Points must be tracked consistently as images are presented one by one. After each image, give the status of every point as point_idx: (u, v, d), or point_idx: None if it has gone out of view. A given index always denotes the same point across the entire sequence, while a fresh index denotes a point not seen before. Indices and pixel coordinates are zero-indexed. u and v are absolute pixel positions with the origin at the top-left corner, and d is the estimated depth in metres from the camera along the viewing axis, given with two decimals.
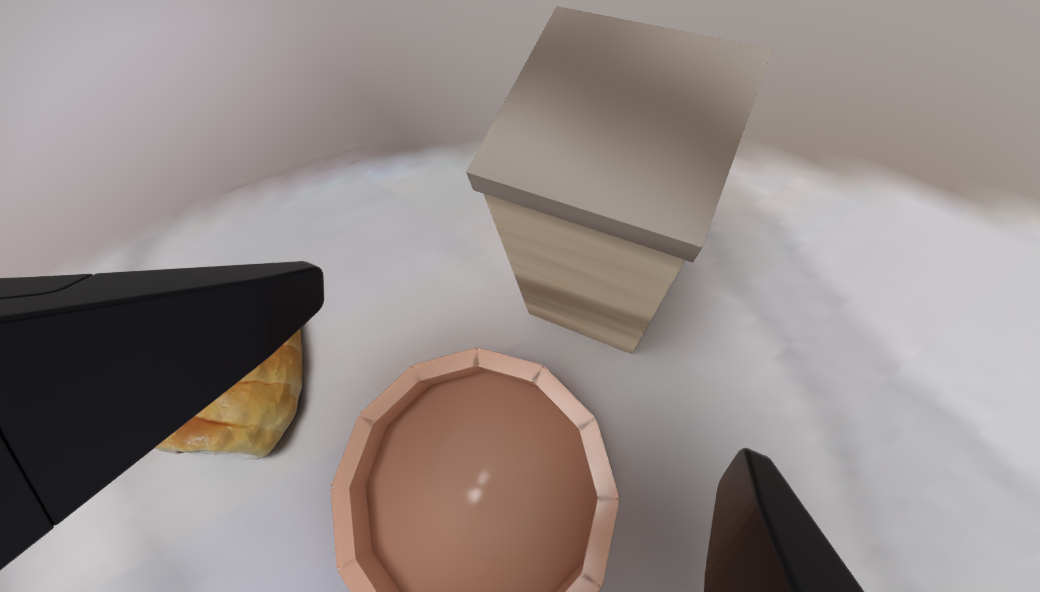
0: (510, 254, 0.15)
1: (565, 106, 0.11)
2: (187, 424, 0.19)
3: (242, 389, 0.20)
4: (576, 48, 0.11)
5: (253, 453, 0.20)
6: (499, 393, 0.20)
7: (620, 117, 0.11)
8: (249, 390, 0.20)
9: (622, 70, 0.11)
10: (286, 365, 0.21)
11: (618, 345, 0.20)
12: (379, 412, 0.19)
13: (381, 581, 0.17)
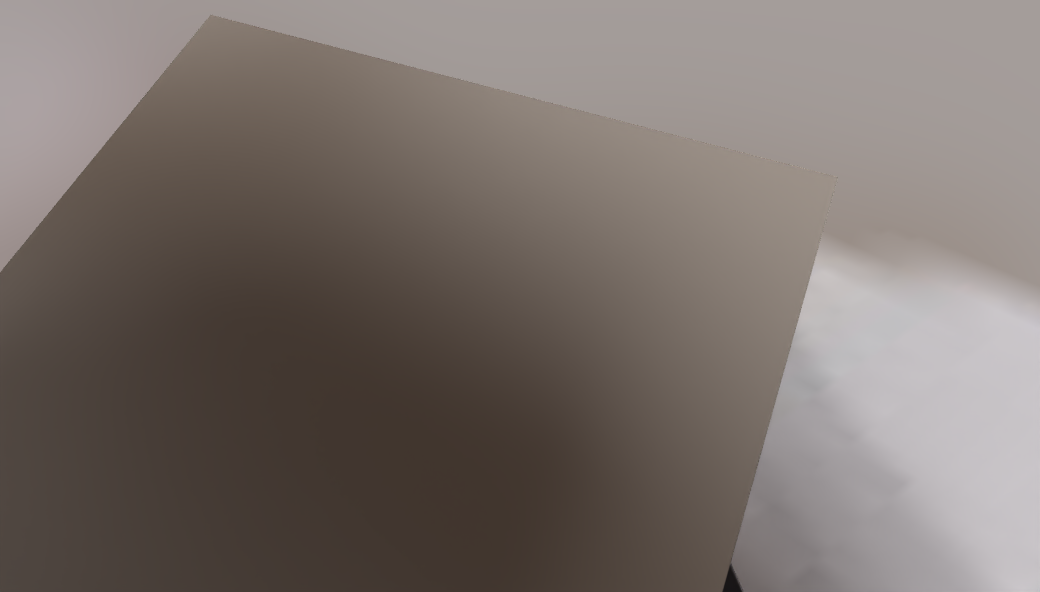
0: None
1: (111, 367, 0.03)
2: None
3: None
4: (215, 147, 0.04)
5: None
6: None
7: (264, 439, 0.03)
8: None
9: (321, 235, 0.03)
10: None
11: None
12: None
13: None
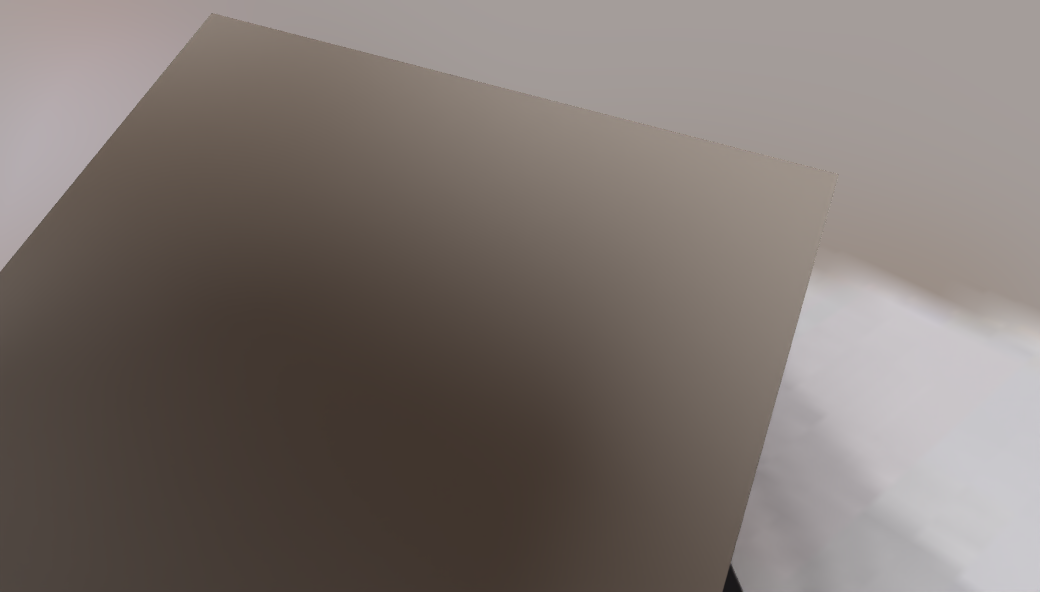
0: None
1: (113, 364, 0.03)
2: None
3: None
4: (217, 145, 0.04)
5: None
6: None
7: (266, 436, 0.03)
8: None
9: (323, 232, 0.03)
10: None
11: None
12: None
13: None
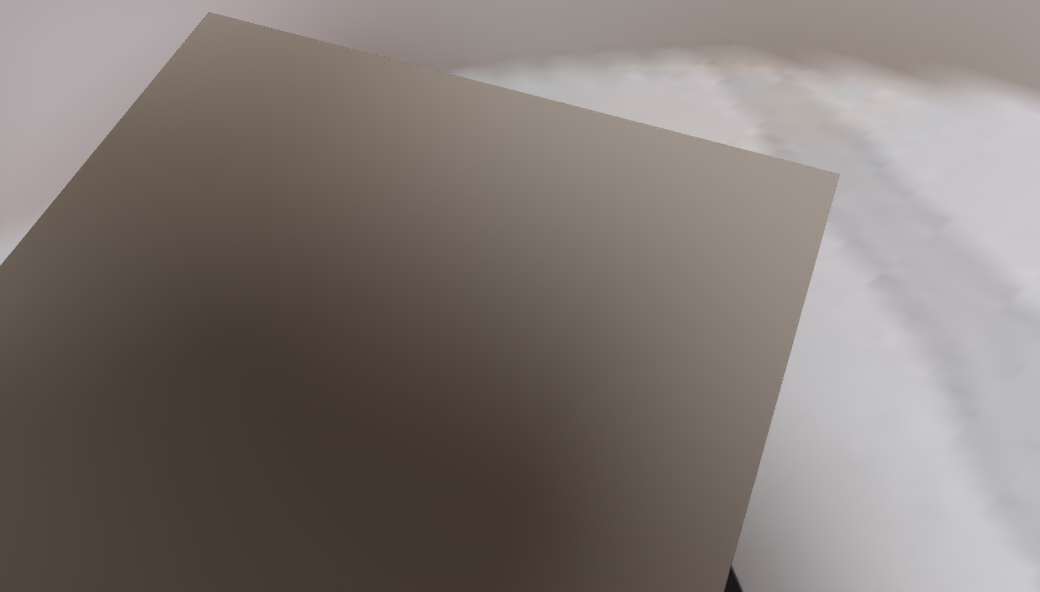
0: None
1: (108, 366, 0.03)
2: None
3: None
4: (213, 144, 0.04)
5: None
6: None
7: (261, 438, 0.03)
8: None
9: (319, 232, 0.03)
10: None
11: None
12: None
13: None
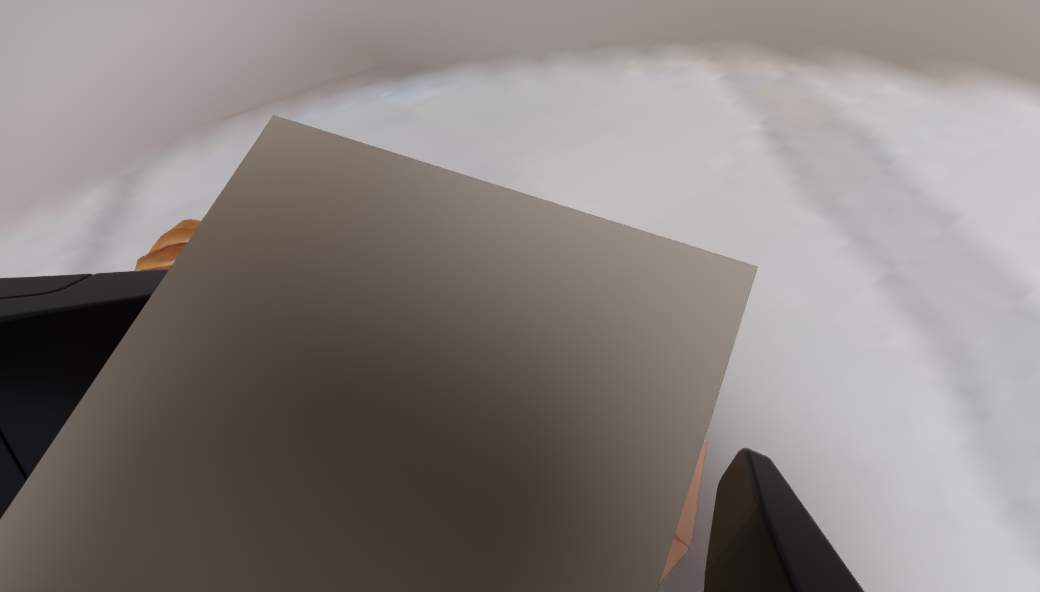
0: None
1: (223, 408, 0.04)
2: None
3: None
4: (287, 231, 0.05)
5: None
6: None
7: (343, 462, 0.04)
8: None
9: (375, 305, 0.04)
10: None
11: None
12: None
13: None
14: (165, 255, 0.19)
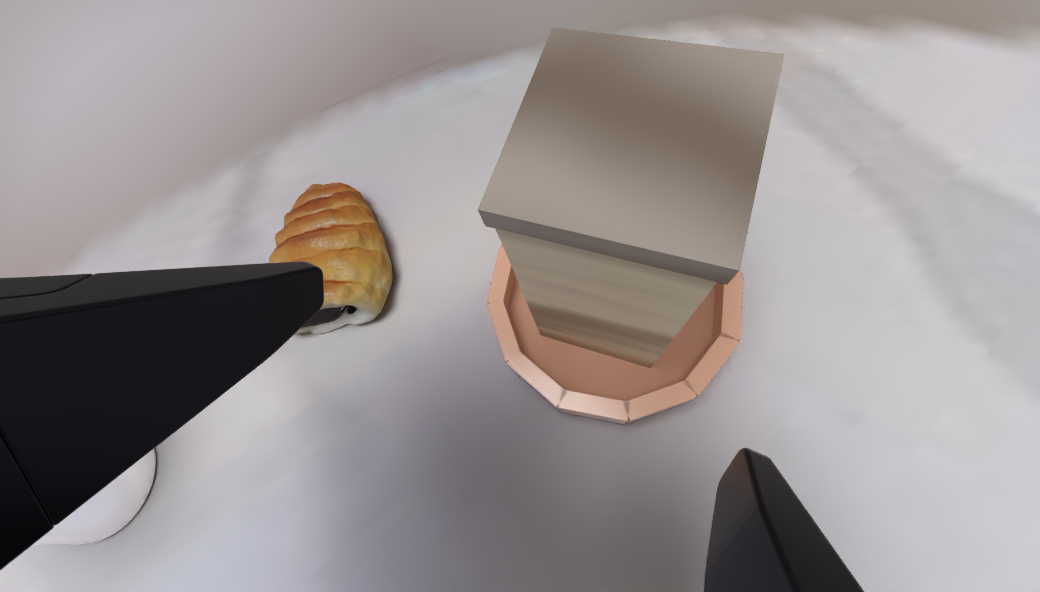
0: (522, 283, 0.15)
1: (574, 131, 0.10)
2: None
3: (350, 253, 0.23)
4: (578, 69, 0.11)
5: (369, 308, 0.23)
6: None
7: (634, 138, 0.10)
8: (356, 254, 0.23)
9: (630, 88, 0.11)
10: (377, 237, 0.24)
11: (636, 361, 0.20)
12: None
13: None
14: (308, 208, 0.25)
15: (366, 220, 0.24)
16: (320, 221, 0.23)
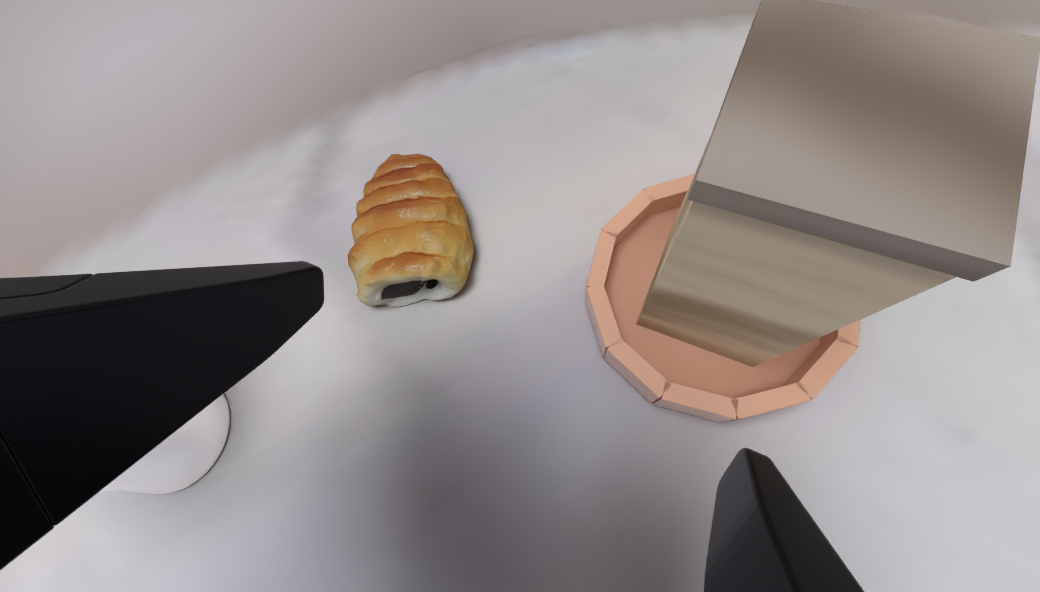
0: (668, 266, 0.14)
1: (801, 104, 0.10)
2: (400, 257, 0.21)
3: (438, 227, 0.22)
4: (799, 39, 0.10)
5: (453, 284, 0.22)
6: None
7: (871, 116, 0.09)
8: (443, 227, 0.22)
9: (861, 63, 0.10)
10: (462, 212, 0.24)
11: (741, 358, 0.19)
12: (620, 226, 0.21)
13: None
14: (392, 177, 0.24)
15: (451, 194, 0.24)
16: (407, 191, 0.23)
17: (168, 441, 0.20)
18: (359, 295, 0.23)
